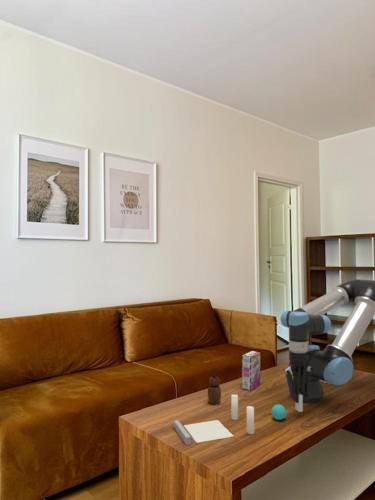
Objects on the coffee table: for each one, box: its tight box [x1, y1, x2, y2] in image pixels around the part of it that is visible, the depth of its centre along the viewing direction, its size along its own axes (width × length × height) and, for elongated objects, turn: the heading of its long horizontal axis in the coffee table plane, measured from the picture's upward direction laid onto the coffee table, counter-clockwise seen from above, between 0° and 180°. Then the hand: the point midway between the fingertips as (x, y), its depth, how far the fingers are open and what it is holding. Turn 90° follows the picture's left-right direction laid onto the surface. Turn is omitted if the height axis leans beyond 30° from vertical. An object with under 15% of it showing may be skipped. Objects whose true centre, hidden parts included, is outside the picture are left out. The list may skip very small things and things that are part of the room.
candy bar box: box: [241, 350, 261, 392], centre depth 183 cm, size 11×5×16 cm, turn 145°
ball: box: [271, 404, 287, 421], centre depth 146 cm, size 6×6×6 cm
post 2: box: [246, 405, 255, 435], centre depth 135 cm, size 3×3×9 cm
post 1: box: [230, 393, 239, 421], centre depth 146 cm, size 3×3×9 cm
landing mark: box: [183, 419, 235, 444], centre depth 136 cm, size 14×14×1 cm
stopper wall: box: [173, 419, 192, 446], centre depth 133 cm, size 2×14×2 cm, turn 19°
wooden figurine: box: [207, 366, 222, 405], centre depth 163 cm, size 7×6×15 cm
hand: (299, 410), depth 149 cm, fingers closed
